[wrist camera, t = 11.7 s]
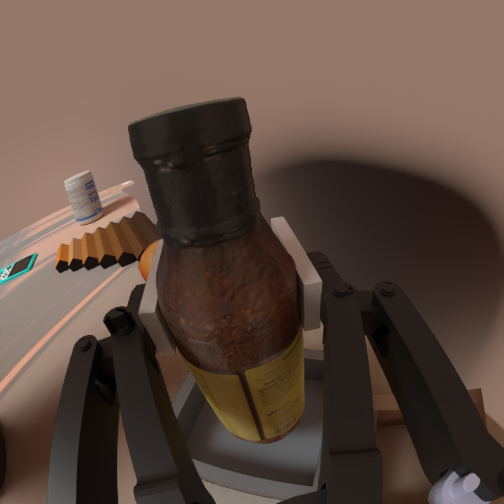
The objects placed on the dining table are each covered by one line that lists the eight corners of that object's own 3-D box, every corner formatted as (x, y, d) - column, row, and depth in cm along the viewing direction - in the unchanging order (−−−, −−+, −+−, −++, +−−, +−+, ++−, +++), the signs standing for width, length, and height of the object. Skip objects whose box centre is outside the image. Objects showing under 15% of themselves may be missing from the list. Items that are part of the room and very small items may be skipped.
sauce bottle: (297, 375, 21) (284, 95, 11) (309, 442, 15) (325, 86, 5) (218, 383, 21) (141, 119, 11) (216, 450, 15) (65, 138, 5)
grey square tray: (167, 466, 17) (146, 452, 15) (218, 361, 28) (208, 334, 25) (318, 504, 13) (324, 500, 11) (341, 379, 24) (348, 352, 21)
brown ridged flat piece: (179, 259, 48) (146, 220, 66) (174, 242, 46) (142, 208, 65) (57, 314, 37) (60, 258, 56) (48, 299, 35) (55, 246, 54)
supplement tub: (103, 219, 72) (88, 172, 64) (75, 229, 69) (60, 184, 61) (105, 209, 80) (92, 167, 72) (80, 219, 77) (67, 177, 69)
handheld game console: (1, 273, 54) (-1, 269, 53) (38, 255, 59) (36, 251, 59) (-9, 291, 46) (-11, 287, 45) (31, 272, 52) (29, 267, 51)
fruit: (166, 254, 46) (170, 222, 40) (198, 285, 44) (207, 256, 38) (129, 279, 41) (127, 248, 35) (161, 314, 39) (163, 288, 33)
